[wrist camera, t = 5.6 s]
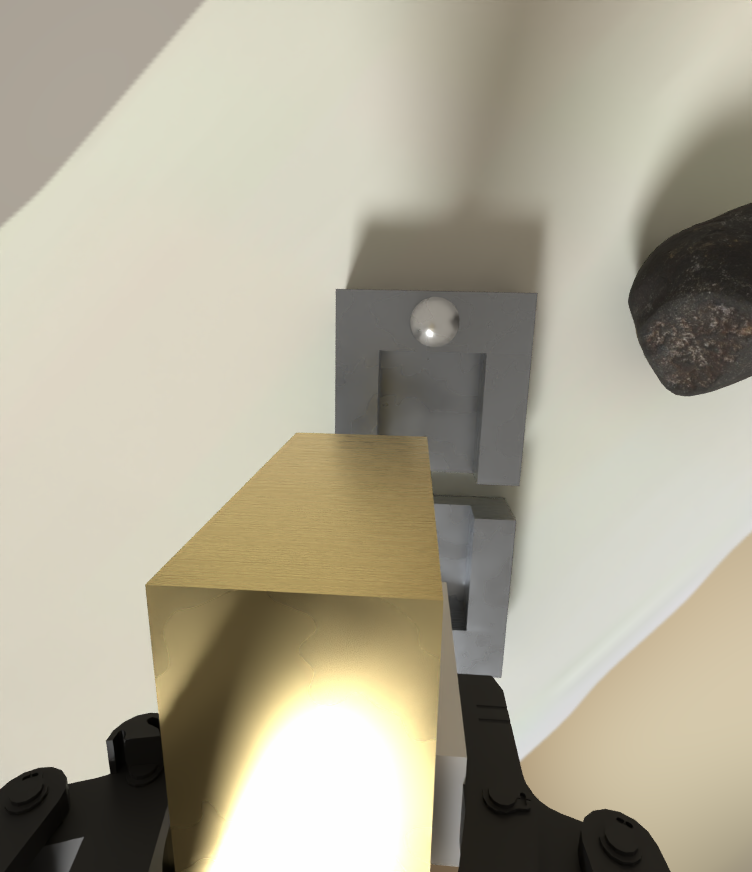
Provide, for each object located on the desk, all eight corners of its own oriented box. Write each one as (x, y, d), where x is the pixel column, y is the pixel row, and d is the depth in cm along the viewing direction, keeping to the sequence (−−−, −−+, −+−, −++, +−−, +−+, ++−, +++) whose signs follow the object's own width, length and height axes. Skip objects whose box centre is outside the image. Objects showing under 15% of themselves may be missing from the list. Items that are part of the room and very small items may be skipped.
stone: (677, 351, 31) (908, 332, 22) (616, 422, 27) (859, 430, 19) (640, 227, 28) (889, 153, 20) (568, 290, 25) (828, 234, 16)
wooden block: (304, 754, 18) (204, 1151, 10) (296, 432, 16) (145, 584, 7) (414, 762, 18) (414, 1178, 9) (426, 436, 15) (443, 600, 7)
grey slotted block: (341, 631, 34) (332, 676, 30) (344, 292, 29) (333, 288, 25) (492, 640, 33) (503, 687, 29) (522, 296, 28) (541, 292, 24)
